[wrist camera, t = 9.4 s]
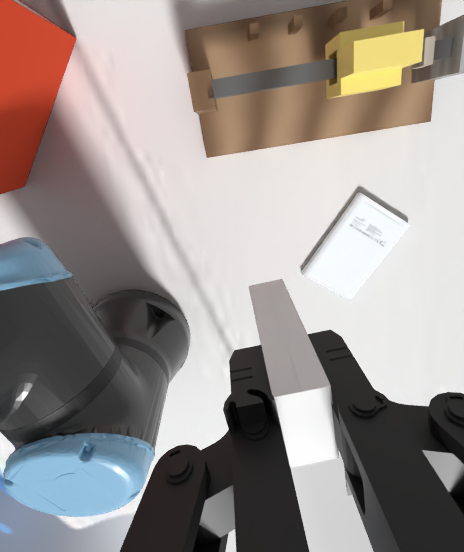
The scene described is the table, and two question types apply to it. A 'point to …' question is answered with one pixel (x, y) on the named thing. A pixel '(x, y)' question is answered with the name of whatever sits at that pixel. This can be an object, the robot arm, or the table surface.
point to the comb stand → (310, 75)
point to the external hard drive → (355, 246)
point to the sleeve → (372, 58)
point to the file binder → (27, 85)
